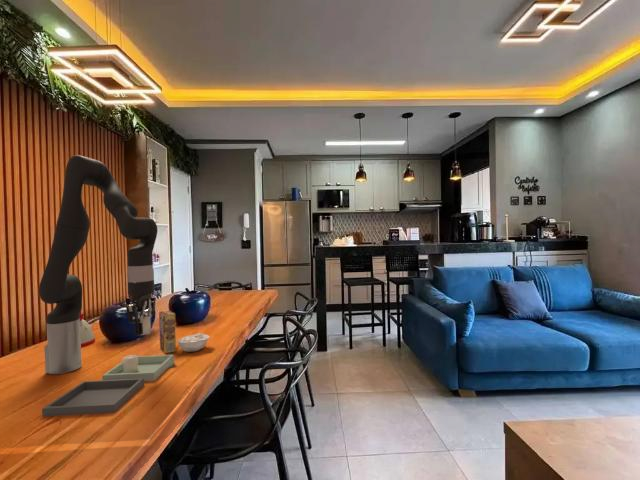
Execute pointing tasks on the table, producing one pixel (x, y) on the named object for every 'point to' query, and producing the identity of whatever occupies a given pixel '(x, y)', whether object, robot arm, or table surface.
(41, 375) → the table surface
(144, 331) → the pebble
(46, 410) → the parts tray
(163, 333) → the candy box
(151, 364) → the shallow green tray
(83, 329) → the kitchen timer
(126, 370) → the pebble
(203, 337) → the cell model
